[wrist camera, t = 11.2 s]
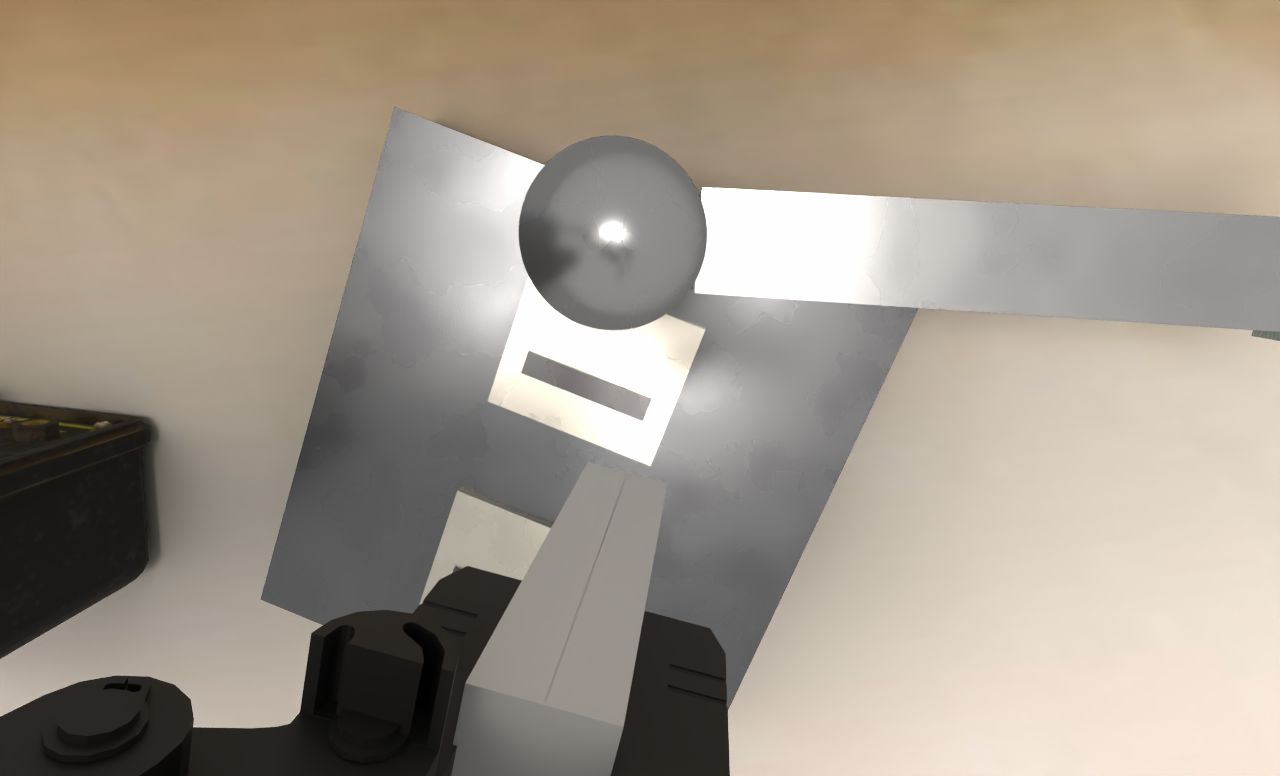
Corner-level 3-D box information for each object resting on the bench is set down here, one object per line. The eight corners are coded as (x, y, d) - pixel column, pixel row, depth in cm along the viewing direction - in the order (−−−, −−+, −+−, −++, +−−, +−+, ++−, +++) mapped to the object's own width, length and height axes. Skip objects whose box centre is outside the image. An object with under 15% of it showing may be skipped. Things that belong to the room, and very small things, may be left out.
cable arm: (1328, 364, 18) (1471, 393, 15) (550, 310, 20) (515, 324, 17) (1375, 189, 17) (1540, 176, 14) (555, 150, 19) (519, 130, 16)
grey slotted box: (304, 564, 30) (205, 642, 24) (435, 108, 26) (351, 69, 20) (698, 724, 30) (692, 844, 24) (901, 288, 25) (955, 303, 19)
